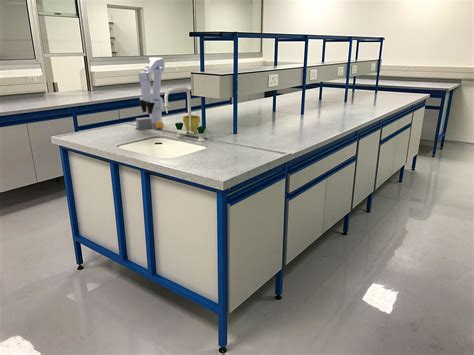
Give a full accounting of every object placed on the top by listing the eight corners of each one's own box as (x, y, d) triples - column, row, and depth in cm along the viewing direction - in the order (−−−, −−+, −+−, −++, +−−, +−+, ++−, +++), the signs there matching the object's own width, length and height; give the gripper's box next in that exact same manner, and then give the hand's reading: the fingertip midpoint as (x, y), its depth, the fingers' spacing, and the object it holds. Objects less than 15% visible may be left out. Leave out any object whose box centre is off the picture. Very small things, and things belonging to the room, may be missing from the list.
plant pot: (189, 134, 226) (188, 118, 223) (180, 131, 233) (179, 116, 230) (203, 132, 232) (203, 117, 229) (194, 129, 240) (194, 114, 236)
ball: (154, 128, 243) (154, 120, 242) (162, 127, 246) (161, 119, 244) (157, 129, 239) (156, 121, 237) (164, 128, 241) (164, 121, 240)
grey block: (136, 127, 245) (135, 118, 243) (149, 126, 249) (148, 117, 247) (139, 129, 240) (138, 119, 238) (151, 127, 244) (151, 118, 242)
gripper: (134, 90, 238) (136, 111, 242) (145, 92, 228) (147, 115, 232) (144, 89, 242) (146, 110, 247) (156, 92, 232) (157, 113, 236)
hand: (147, 112), depth 240 cm, fingers open, 7 cm apart
